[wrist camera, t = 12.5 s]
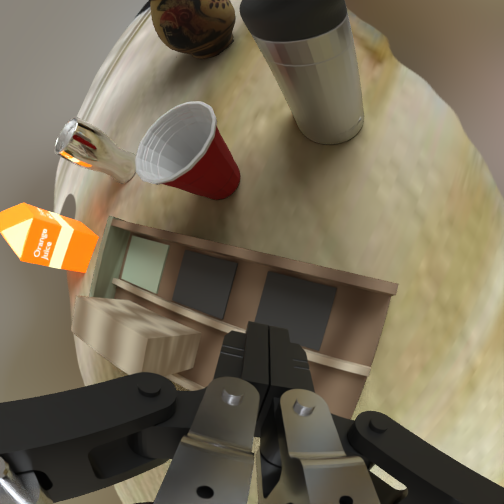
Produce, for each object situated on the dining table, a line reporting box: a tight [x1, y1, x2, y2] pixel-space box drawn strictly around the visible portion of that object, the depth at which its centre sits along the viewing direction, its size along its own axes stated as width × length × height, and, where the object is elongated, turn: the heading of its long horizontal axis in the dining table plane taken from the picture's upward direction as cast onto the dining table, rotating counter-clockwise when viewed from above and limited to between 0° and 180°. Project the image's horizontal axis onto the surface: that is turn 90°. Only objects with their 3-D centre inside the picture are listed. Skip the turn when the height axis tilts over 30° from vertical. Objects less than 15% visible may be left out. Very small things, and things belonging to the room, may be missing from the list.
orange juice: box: [0, 203, 99, 273], centre depth 40 cm, size 8×9×20 cm
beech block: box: [71, 296, 202, 376], centre depth 32 cm, size 14×5×10 cm, turn 74°
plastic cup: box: [135, 101, 240, 200], centre depth 33 cm, size 11×11×12 cm
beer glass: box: [54, 117, 136, 184], centre depth 40 cm, size 7×7×15 cm
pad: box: [121, 235, 170, 294], centre depth 40 cm, size 8×7×1 cm
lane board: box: [89, 216, 398, 419], centre depth 32 cm, size 39×19×5 cm, turn 74°
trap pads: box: [172, 250, 337, 351], centre depth 33 cm, size 20×7×1 cm, turn 74°
